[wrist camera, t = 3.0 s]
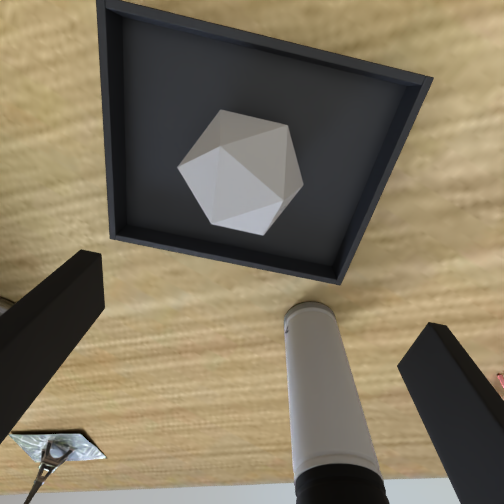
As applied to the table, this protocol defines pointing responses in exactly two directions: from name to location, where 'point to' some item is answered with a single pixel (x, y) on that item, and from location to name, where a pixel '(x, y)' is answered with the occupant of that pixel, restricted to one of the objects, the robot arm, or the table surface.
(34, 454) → the eiffel tower figurine
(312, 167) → the black tray
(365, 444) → the travel mug
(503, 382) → the figurine
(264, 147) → the die
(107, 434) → the table surface
